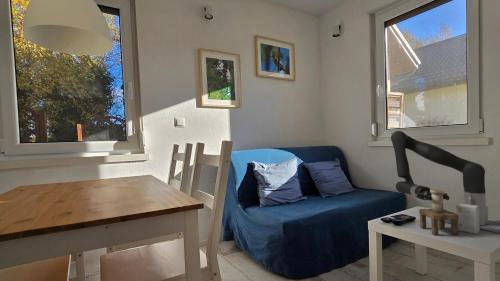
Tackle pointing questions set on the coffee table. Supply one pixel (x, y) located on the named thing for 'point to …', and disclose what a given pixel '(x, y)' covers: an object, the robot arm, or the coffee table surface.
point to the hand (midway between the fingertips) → (439, 198)
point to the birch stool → (437, 200)
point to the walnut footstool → (439, 220)
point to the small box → (468, 218)
